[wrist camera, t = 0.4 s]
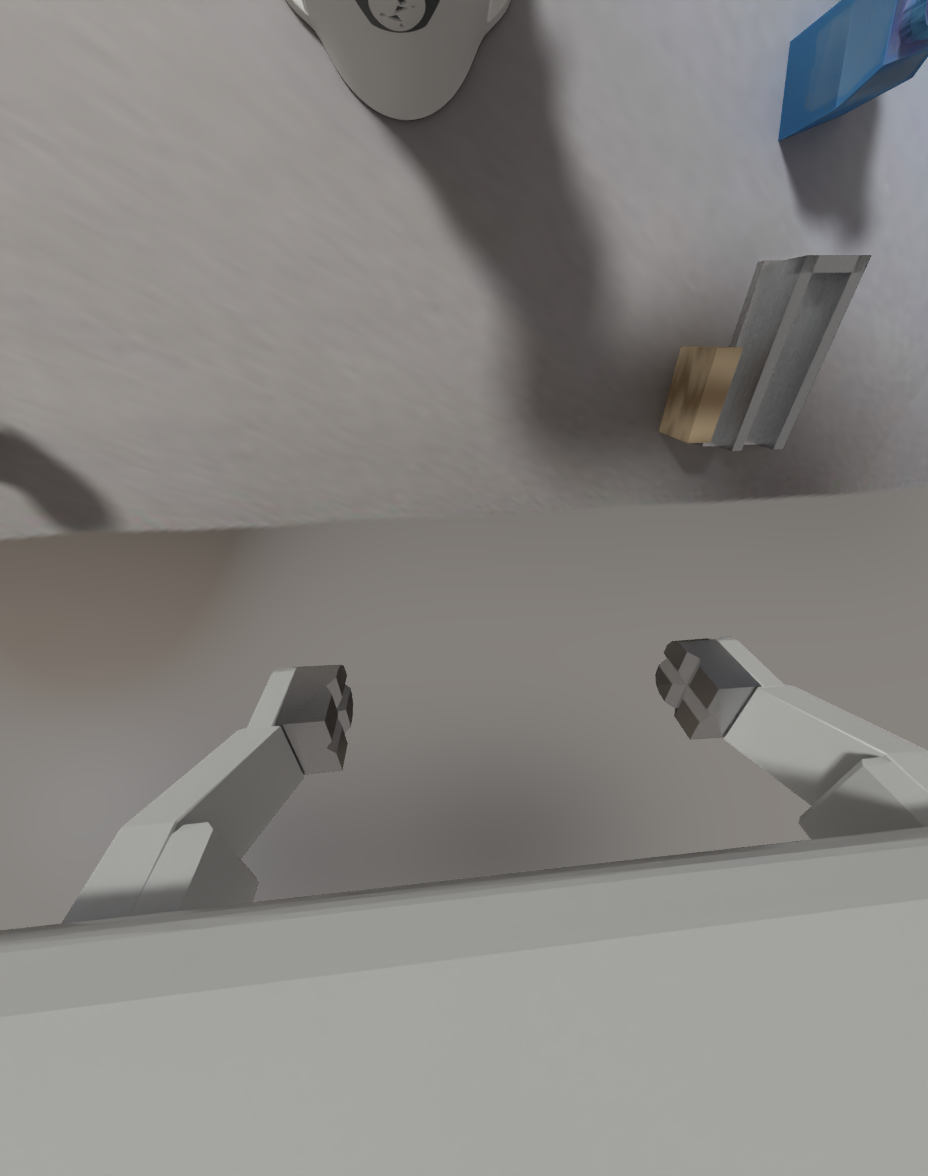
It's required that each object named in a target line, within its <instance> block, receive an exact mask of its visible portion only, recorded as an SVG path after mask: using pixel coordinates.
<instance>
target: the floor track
mask: <svg viewBox="0 0 928 1176" xmlns="http://www.w3.org/2000/svg"><path fill="white" fill-rule="evenodd" d="M870 257H871V255H807V256H802V257H797V258H793V259H788V260H765V261H760V262H758V264H757V267H756V270H755V273H754V276H753V279H752V282H751V285H750V288H749V291H748V294H747V297H746V300H745V303H744V306H743V309H742V312H741V316H740V319H739V322H738V325H737V328H736V331H735V334H734V337H733V340H732V343H731V346H730V347H743V350H742V353H741V356H740V358H739V361H738V364H737V367H736V370H735V373H734V376H733V379H732V381H731V384H730V387H729V390H728V393H727V396H726V399H725V402H724V404H723V407H722V410H721V413H720V416H719V419H718V422H717V425H716V427H715V430H714V433H713V436H712V439H711V442H705V443H698V445H699V446H702V447H703V446H719V447H722V448H724V449H727V450H730V451H742V449H743V446H744V445H756V444H757V445H760V446H763V447H767V448H770V449H773V450H776V449H783V448H784V445H785V443H786V441H787V439H788V437H789V435H790V432H791V430H792V428H793V426H794V424H795V421H796V419H797V417H798V415H799V413H800V410H801V408H802V406H803V404H804V402H805V400H806V397H807V395H808V393H809V391H810V389H811V386H812V384H813V382H814V380H815V378H816V376H817V373H818V371H819V369H820V367H821V365H822V362H823V360H824V358H825V356H826V354H827V351H828V349H829V347H830V345H831V343H832V341H833V338H834V336H835V334H836V332H837V330H838V327H839V325H840V323H841V321H842V319H843V317H844V314H845V312H846V310H847V308H848V306H849V303H850V301H851V299H852V297H853V295H854V292H855V290H856V288H857V286H858V284H859V282H860V279H861V277H862V275H863V273H864V271H865V268H866V266H867V264H868V262H869V260H870Z"/></svg>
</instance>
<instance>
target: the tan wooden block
mask: <svg viewBox="0 0 928 1176" xmlns="http://www.w3.org/2000/svg"><path fill="white" fill-rule="evenodd" d="M742 350H743V347H711V346H693V347H681V349H680V353H679V357H678V361H677V364H676V368H675V372H674V376H673V379H672V383H671V387H670V390H669V394H668V398H667V402H666V405H665V409H664V413H663V417H662V420H661V424H660V428H659V432H661V433H663V434H666V435H668V436H671V437H673V438H676V439H678V440H681V441H683V442H686V443H705V442H711V439H712V436H713V433H714V430H715V427H716V425H717V422H718V419H719V416H720V413H721V410H722V407H723V404H724V402H725V399H726V396H727V393H728V390H729V387H730V384H731V381H732V379H733V376H734V373H735V370H736V367H737V364H738V361H739V358H740V356H741V353H742Z"/></svg>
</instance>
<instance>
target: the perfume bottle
mask: <svg viewBox="0 0 928 1176" xmlns="http://www.w3.org/2000/svg"><path fill="white" fill-rule="evenodd" d="M927 57H928V0H841V1H840V2H839V3H837V4H836V5H835V6H834V7H833V8H831V9H830V10H829V11H828V12H826V13H825V14H824V15H823V16H821V17H820V18H819V19H818V20H817V21H815V22H814V23H813V24H812V25H810V26H809V27H808V28H807V29H805V30H804V31H803V32H802V33H801V34H799V35H798V36H797V37H796V38H794V39H793V40H792V41H791V42H790V48H789V57H788V65H787V73H786V81H785V90H784V98H783V106H782V115H781V123H780V131H779V139H778V141H780V140H782V139H785V138H787V137H789V136H792V135H794V134H797V133H799V132H802V131H804V130H807V129H809V128H812V127H814V126H816V125H819V124H821V123H824V122H826V121H829V120H831V119H834V118H836V117H839V116H841V115H843V114H845V113H847V112H849V111H851V110H853V109H855V108H857V107H858V106H860V105H862V104H864V103H866V102H868V101H870V100H871V99H873V98H875V97H877V96H879V95H881V94H883V93H884V92H886V91H888V90H890V89H892V88H894V87H896V86H898V85H899V84H901V83H903V82H905V81H907V80H909V79H911V78H912V77H913V76H914V75H915V73H916V72H917V71H918V69H919V68H920V66H921V65H922V64H923V62H924V61H925V60H926V58H927Z"/></svg>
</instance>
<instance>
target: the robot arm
mask: <svg viewBox="0 0 928 1176" xmlns="http://www.w3.org/2000/svg"><path fill="white" fill-rule="evenodd" d="M286 1H287V3H288V4H289V5H290V6H291V7H292V9H293V10H294V11H295V12H296V13H297V14H298V15H299V16H300V17H301V18H302V19H303V20H304V21H305V22H306V23H308V24H309V25H310V26H311V27H312V28H313V29H314V31H315V32H316V34H317V35H318V37H319V38H320V40H321V42H322V43H323V45H324V47H325V49H326V51H327V53H328V55H329V57H330V58H331V60H332V62H333V64H334V66H335V67H336V69H337V71H338V72H339V74H340V75H341V77H342V78H343V79H344V81H345V82H346V83H347V85H348V86H349V87H350V88H351V90H352V91H353V92H354V93H355V94H356V95H357V96H358V97H359V98H360V99H361V100H362V101H363V102H364V103H366V104H367V105H368V106H370V107H371V108H372V109H374V110H376V111H377V112H379V113H381V114H383V115H385V116H388V117H391V118H394V119H400V120H415V119H420V118H423V117H426V116H429V115H431V114H433V113H434V112H436V111H437V110H439V109H440V108H442V107H443V106H444V105H445V104H446V103H447V102H448V101H449V100H450V99H451V98H452V97H453V96H454V94H455V93H456V92H457V90H458V89H459V88H460V86H461V84H462V83H463V81H464V79H465V77H466V76H467V74H468V71H469V69H470V67H471V65H472V62H473V60H474V57H475V55H476V52H477V50H478V47H479V45H480V43H481V41H482V39H483V38H484V36H485V35H486V34H487V33H488V32H489V31H490V30H491V28H492V27H493V26H494V25H495V24H496V23H497V22H498V21H499V20H500V19H501V17H502V16H503V15H504V13H505V12H506V10H507V9H508V7H509V5H510V2H511V0H286ZM664 654H665V655H666V657H667V659H666V660H664V661H663V662H662V663H661V664H659V666H658V669H657V671H656V674H655V675H656V685H657V688H658V691H659V693H660V695H661V696H662V698H663V699H664V701H665V702H667V703H668V704H670V705H671V706H673V707H674V708H675V715H674V716H675V718H676V719H677V721H678V722H679V724H680V725H681V727H682V728H683V730H684V731H685V733H686V734H687V736H688V737H689V738H690V739H704V738H720V737H725V738H724V740H725V741H727V742H728V743H729V744H731V745H732V746H733V747H735V748H736V749H737V750H739V751H740V752H741V753H743V754H744V755H745V756H746V757H748V758H749V759H750V760H752V761H753V762H755V763H756V764H757V765H758V766H760V767H761V768H762V769H764V770H765V771H766V772H768V773H769V774H770V775H772V776H773V777H774V778H776V779H777V780H778V781H779V782H781V783H782V784H783V785H785V786H786V787H787V788H789V789H790V790H791V791H793V792H794V793H795V794H797V795H798V796H799V797H801V798H802V799H803V800H805V801H806V802H807V803H809V804H810V805H811V807H810V808H809V809H808V810H807V811H806V812H805V813H804V814H803V815H802V816H800V819H799V824H800V826H801V827H802V828H803V830H804V831H805V832H806V834H807V835H808V836H809V838H810V839H811V840H804V841H794V842H786V843H776V844H767V845H758V846H749V847H741V848H732V849H723V850H714V851H705V852H696V853H687V854H678V855H669V856H660V857H651V858H642V859H633V860H624V861H615V862H606V863H597V864H588V865H580V866H571V867H562V868H553V869H544V870H536V871H526V872H517V873H508V874H499V875H491V876H481V877H473V878H463V879H454V880H445V881H437V882H427V883H418V884H411V885H401V886H392V887H384V888H374V889H365V890H356V891H347V892H339V893H330V894H321V895H312V896H303V897H294V898H285V899H276V900H267V901H259V902H253V900H254V897H255V893H256V890H257V887H258V883H259V882H258V880H257V878H256V877H255V875H254V874H253V873H252V872H251V870H250V869H249V868H248V867H247V866H246V865H245V864H244V863H243V861H242V860H241V858H242V857H243V856H244V854H245V853H246V852H247V851H248V849H249V848H250V847H251V845H252V844H253V843H254V842H255V840H256V839H257V838H258V836H259V835H260V834H261V832H262V831H263V830H264V829H265V827H266V826H267V825H268V823H269V822H270V821H271V820H272V818H273V817H274V816H275V815H276V813H277V812H278V811H279V809H280V808H281V807H282V806H283V804H284V803H285V802H286V800H287V799H288V798H289V796H290V795H291V794H292V793H293V791H294V790H295V789H296V787H297V786H298V785H299V784H300V782H301V781H302V780H303V779H304V775H308V774H317V773H325V772H334V771H342V770H343V765H344V760H345V755H346V749H347V744H348V743H347V740H346V737H345V733H346V731H347V730H348V729H349V728H350V727H351V722H352V716H353V698H352V692H351V689H350V687H348V686H347V685H345V682H346V677H347V674H346V671H345V668H344V666H343V665H325V666H303V667H292V668H277V669H276V670H275V671H274V672H273V673H272V674H271V676H270V678H269V681H268V683H267V685H266V687H265V689H264V691H263V694H262V696H261V698H260V700H259V702H258V705H257V707H256V709H255V711H254V713H253V715H252V718H251V720H250V722H249V724H248V726H247V728H246V729H239V730H238V731H237V732H235V733H234V734H233V735H232V736H231V737H230V738H228V739H227V740H226V741H225V742H223V743H222V744H221V745H220V746H219V747H217V749H215V750H214V751H213V752H211V753H210V754H209V755H208V756H207V757H205V758H204V759H203V760H202V761H201V762H199V763H198V764H197V765H196V766H195V767H194V768H192V769H191V770H190V771H189V772H188V773H186V774H185V775H184V776H183V777H182V778H180V779H179V780H178V781H177V782H176V783H174V784H173V785H172V786H171V787H170V788H168V789H167V790H166V791H165V792H163V793H162V794H161V795H160V796H159V797H157V798H156V799H155V800H154V801H153V802H151V803H150V804H149V805H148V806H147V807H146V808H144V809H143V810H142V811H141V812H139V813H138V814H137V815H136V816H135V817H133V818H132V819H131V820H130V821H129V822H128V823H126V824H125V825H124V826H123V827H122V828H121V829H120V830H119V832H118V833H117V835H116V837H115V838H114V840H113V841H112V843H111V845H110V846H109V848H108V850H107V851H106V853H105V854H104V856H103V858H102V859H101V861H100V862H99V864H98V866H97V867H96V869H95V870H94V872H93V874H92V875H91V877H90V878H89V880H88V881H87V883H86V885H85V886H84V888H83V890H82V891H81V893H80V894H79V896H78V898H77V899H76V901H75V902H74V904H73V906H72V907H71V909H70V911H69V912H68V914H67V915H66V917H65V919H64V920H63V922H62V923H61V924H53V925H45V926H36V927H26V928H17V929H9V930H0V1176H928V751H927V750H925V749H923V748H921V747H919V746H917V745H915V744H913V743H911V742H909V741H907V740H904V739H902V738H900V737H898V736H896V735H894V734H892V733H890V732H888V731H886V730H884V729H882V728H880V727H878V726H875V725H873V724H871V723H869V722H867V721H865V720H863V719H861V718H859V717H857V716H855V715H853V714H850V713H848V712H846V711H844V710H842V709H840V708H838V707H836V706H834V705H831V704H830V703H828V702H826V701H823V700H821V699H819V698H817V697H815V696H813V695H811V694H809V693H807V692H805V691H803V690H800V689H799V688H796V687H795V686H792V685H784V684H783V683H782V682H781V681H780V680H779V679H778V678H777V677H776V676H775V675H774V674H772V672H771V671H769V670H768V669H767V668H766V667H765V666H764V665H763V664H762V663H761V662H760V661H759V660H758V659H757V658H756V657H755V656H754V655H753V654H752V653H750V652H749V650H747V649H746V648H745V647H744V646H743V645H742V644H741V643H740V642H739V641H738V640H737V639H735V638H732V637H720V638H710V639H695V640H681V641H672V642H670V643H669V644H668V645H667V646H666V649H665V651H664Z"/></svg>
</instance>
